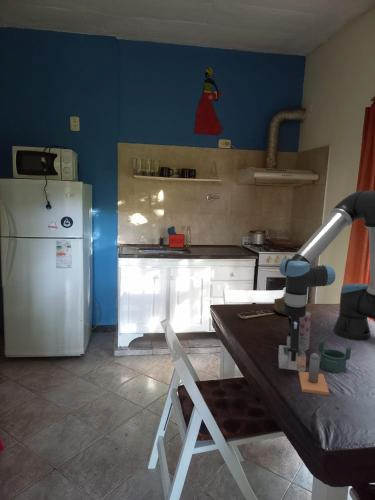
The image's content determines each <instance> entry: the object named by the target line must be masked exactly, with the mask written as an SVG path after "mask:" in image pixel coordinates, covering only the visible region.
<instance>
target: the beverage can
mask: <svg viewBox="0 0 375 500" xmlns="http://www.w3.org/2000/svg"><path fill="white" fill-rule="evenodd" d="M298 319H299V321H300V326H299V347H302V348H304V351H305V352H306V351H308V350H309V348H310V339H311V338H310V334H311V322H312V313H311V312H310V311H307V310H306V314H305V316H304V317H300V318H298Z"/></svg>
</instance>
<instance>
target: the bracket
mask: <svg viewBox="0 0 375 500" xmlns="http://www.w3.org/2000/svg"><path fill="white" fill-rule="evenodd" d="M351 351H352V347H350V346H346V348H345V352H344V351H341V350H338V349H333V348H325V340H322V339H319V340H318V349H317V352H318V353H320V354H321V357H320V366H321V368H322V369H324V370H326V371H328V372H330V373H331V372H332V373H343V372H345V371H346V365H347V360H350V359H351Z"/></svg>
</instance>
